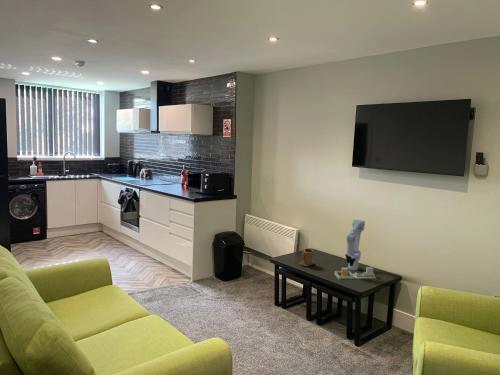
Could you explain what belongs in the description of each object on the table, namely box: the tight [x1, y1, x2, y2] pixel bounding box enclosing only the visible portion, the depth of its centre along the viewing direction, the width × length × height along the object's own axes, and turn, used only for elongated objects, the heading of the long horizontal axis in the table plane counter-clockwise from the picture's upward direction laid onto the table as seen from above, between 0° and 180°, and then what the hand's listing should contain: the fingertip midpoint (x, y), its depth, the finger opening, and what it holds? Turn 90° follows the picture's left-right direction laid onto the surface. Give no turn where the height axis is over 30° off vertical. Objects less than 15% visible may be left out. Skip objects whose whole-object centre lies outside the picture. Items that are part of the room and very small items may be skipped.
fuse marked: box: [340, 267, 349, 276], centre depth 317 cm, size 3×5×7 cm, turn 92°
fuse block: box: [352, 271, 377, 279], centre depth 319 cm, size 10×18×4 cm, turn 93°
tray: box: [334, 270, 356, 281], centre depth 318 cm, size 13×13×3 cm
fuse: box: [365, 266, 374, 277], centre depth 318 cm, size 3×5×7 cm, turn 93°
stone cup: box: [298, 248, 316, 267], centre depth 345 cm, size 15×12×15 cm
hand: (349, 264), depth 321 cm, fingers open, 7 cm apart
